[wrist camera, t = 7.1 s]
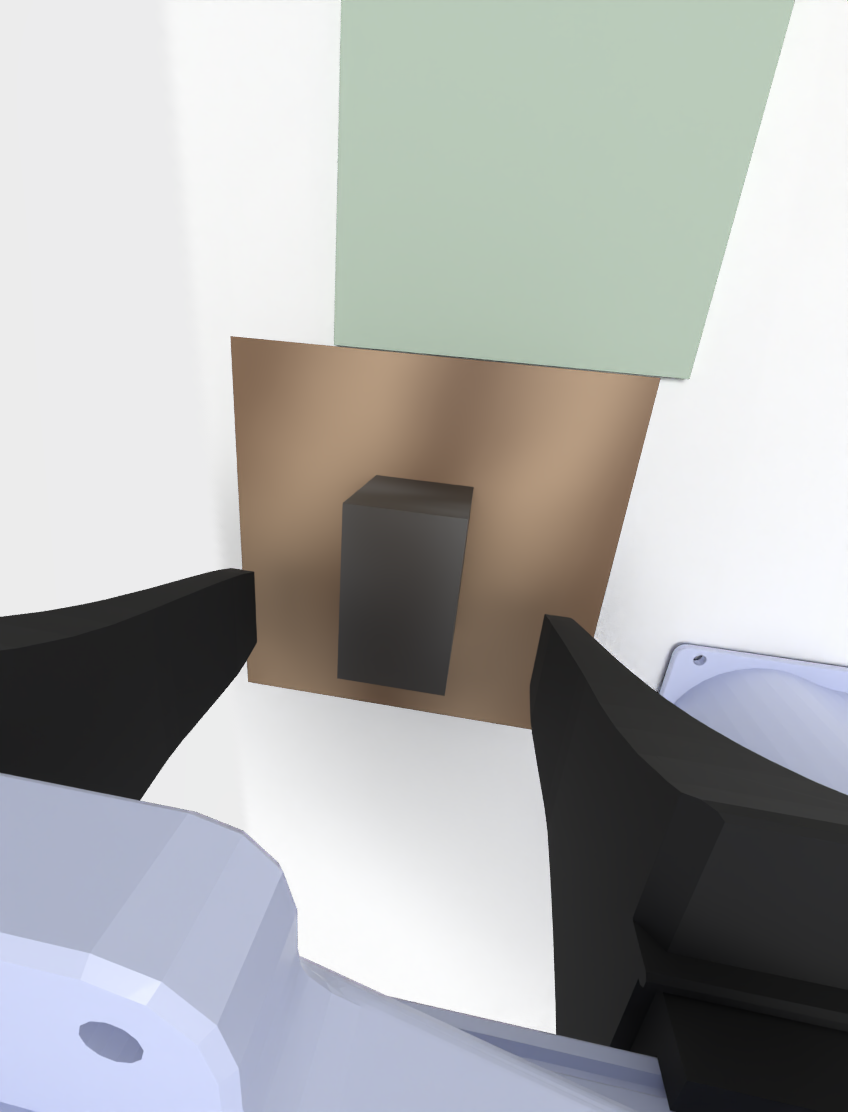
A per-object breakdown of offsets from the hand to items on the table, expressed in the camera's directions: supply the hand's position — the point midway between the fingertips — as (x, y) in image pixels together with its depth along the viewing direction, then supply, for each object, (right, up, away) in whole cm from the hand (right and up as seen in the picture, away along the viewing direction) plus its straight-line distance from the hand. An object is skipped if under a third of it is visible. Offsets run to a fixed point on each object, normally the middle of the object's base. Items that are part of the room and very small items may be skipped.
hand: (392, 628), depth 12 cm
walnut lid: (+1, +2, +4) cm, 5 cm away
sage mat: (+4, +15, +4) cm, 16 cm away
